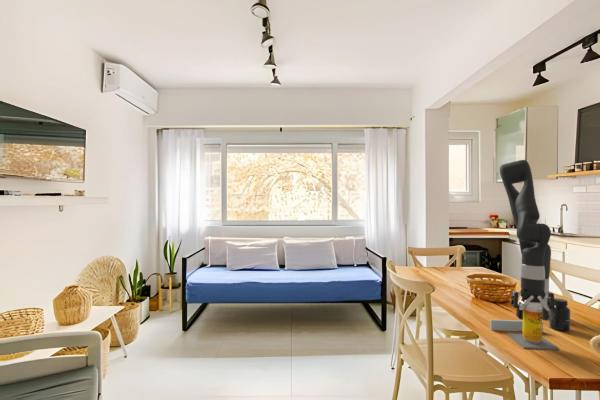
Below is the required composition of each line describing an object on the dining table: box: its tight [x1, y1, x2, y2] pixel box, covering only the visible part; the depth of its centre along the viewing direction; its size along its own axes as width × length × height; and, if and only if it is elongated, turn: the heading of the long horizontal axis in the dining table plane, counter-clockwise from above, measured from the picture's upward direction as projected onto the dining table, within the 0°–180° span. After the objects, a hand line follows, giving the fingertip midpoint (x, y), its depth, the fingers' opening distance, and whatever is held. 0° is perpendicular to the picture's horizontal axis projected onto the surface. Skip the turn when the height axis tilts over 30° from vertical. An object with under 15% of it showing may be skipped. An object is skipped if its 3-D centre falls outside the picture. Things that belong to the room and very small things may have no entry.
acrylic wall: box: [489, 318, 544, 333], centre depth 139 cm, size 20×1×4 cm, turn 84°
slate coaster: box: [506, 332, 560, 351], centre depth 129 cm, size 12×12×1 cm
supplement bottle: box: [549, 297, 571, 332], centre depth 142 cm, size 7×7×12 cm
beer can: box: [521, 302, 543, 343], centre depth 129 cm, size 6×6×15 cm
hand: (532, 319), depth 128 cm, fingers open, 8 cm apart
